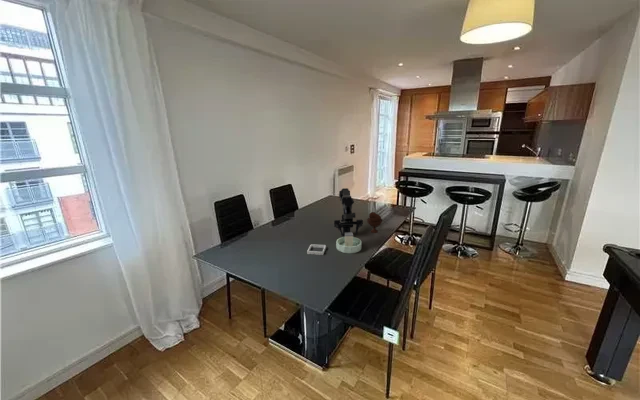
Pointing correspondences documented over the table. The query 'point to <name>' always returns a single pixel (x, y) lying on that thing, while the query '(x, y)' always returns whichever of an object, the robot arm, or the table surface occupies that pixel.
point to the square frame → (316, 251)
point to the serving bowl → (341, 247)
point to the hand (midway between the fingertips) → (349, 235)
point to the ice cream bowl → (374, 221)
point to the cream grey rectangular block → (348, 239)
